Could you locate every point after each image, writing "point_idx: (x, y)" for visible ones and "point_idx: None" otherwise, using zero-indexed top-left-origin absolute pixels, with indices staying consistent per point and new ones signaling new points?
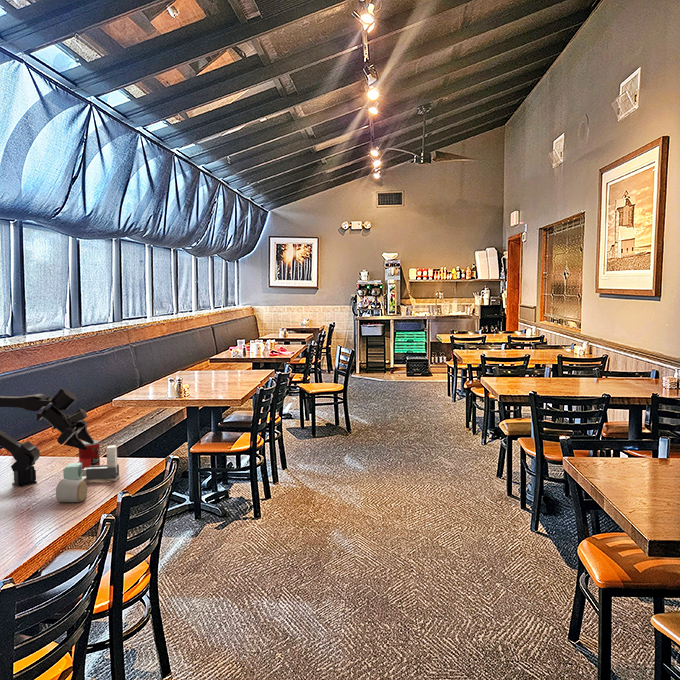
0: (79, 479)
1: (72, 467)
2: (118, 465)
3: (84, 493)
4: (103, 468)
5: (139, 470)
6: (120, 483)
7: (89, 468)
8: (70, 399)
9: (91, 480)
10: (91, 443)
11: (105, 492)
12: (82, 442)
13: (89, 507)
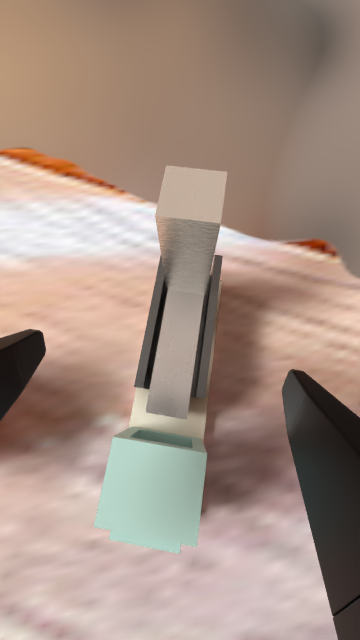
0: (179, 433)
1: (203, 486)
2: None
3: None
4: (215, 309)
5: (98, 218)
6: (248, 268)
7: (172, 384)
8: None
9: (210, 375)
10: (41, 357)
11: (351, 309)
12: (338, 425)
13: None
